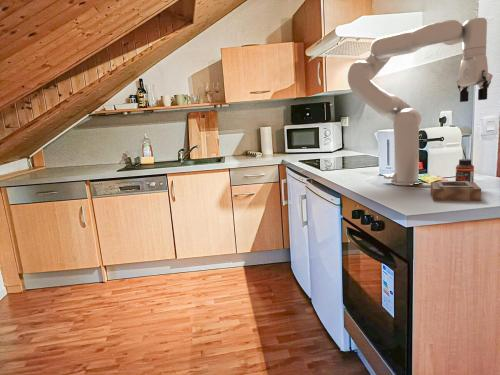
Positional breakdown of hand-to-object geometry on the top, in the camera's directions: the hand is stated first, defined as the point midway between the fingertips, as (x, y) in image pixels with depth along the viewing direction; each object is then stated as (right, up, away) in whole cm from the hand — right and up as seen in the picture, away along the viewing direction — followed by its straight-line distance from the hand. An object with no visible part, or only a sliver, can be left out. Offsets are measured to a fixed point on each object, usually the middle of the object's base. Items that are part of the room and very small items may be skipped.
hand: (473, 100), depth 137 cm
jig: (-14, -37, -11) cm, 41 cm away
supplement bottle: (-4, -34, -1) cm, 34 cm away
